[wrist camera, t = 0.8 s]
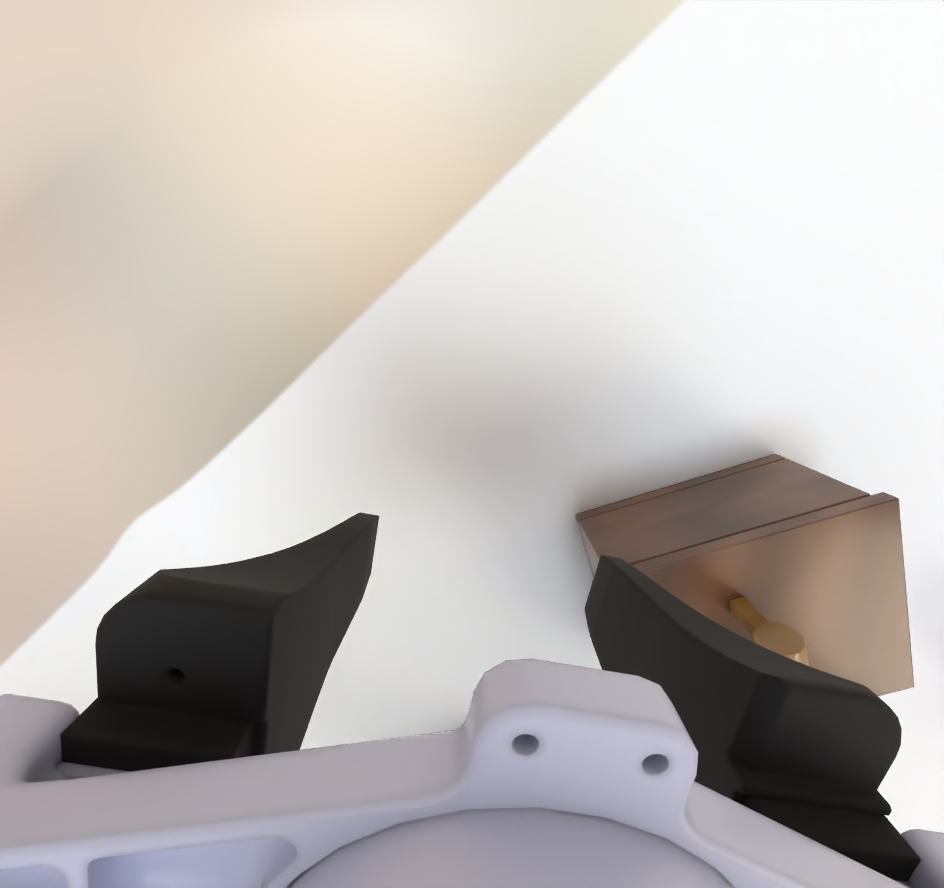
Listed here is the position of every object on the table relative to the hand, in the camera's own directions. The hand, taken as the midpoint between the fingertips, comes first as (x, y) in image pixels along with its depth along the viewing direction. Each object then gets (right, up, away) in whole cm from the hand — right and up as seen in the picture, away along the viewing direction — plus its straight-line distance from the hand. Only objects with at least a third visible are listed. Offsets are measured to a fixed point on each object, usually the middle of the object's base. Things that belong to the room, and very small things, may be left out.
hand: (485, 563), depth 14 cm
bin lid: (+12, -4, +6) cm, 14 cm away
